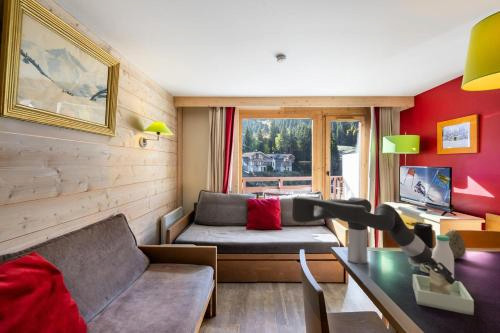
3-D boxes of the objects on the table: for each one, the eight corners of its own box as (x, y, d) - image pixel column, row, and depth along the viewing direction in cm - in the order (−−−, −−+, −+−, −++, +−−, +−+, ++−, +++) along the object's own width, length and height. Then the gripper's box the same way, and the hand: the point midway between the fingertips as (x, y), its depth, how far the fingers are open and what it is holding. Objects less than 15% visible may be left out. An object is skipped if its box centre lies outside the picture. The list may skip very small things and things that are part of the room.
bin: (417, 304, 95) (417, 290, 95) (412, 286, 109) (412, 274, 109) (473, 315, 88) (473, 300, 88) (460, 294, 102) (460, 281, 102)
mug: (441, 275, 120) (441, 253, 120) (411, 273, 123) (411, 251, 123) (433, 268, 128) (433, 247, 128) (404, 266, 131) (404, 246, 131)
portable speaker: (420, 263, 134) (420, 225, 134) (409, 257, 144) (409, 221, 144) (437, 263, 134) (437, 225, 134) (425, 257, 144) (425, 221, 143)
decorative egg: (470, 262, 136) (470, 233, 136) (447, 261, 138) (447, 232, 138) (457, 255, 146) (457, 228, 146) (436, 254, 148) (436, 228, 148)
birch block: (438, 299, 96) (438, 272, 96) (429, 293, 101) (429, 267, 101) (450, 299, 96) (450, 272, 96) (440, 293, 101) (440, 267, 101)
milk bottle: (455, 288, 108) (455, 239, 108) (432, 283, 112) (432, 236, 112) (452, 281, 114) (453, 235, 114) (431, 277, 118) (431, 232, 118)
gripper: (395, 248, 105) (423, 276, 106) (421, 261, 91) (452, 293, 91) (408, 235, 105) (435, 263, 106) (435, 246, 91) (466, 278, 92)
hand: (443, 277), depth 99 cm, fingers open, 8 cm apart
